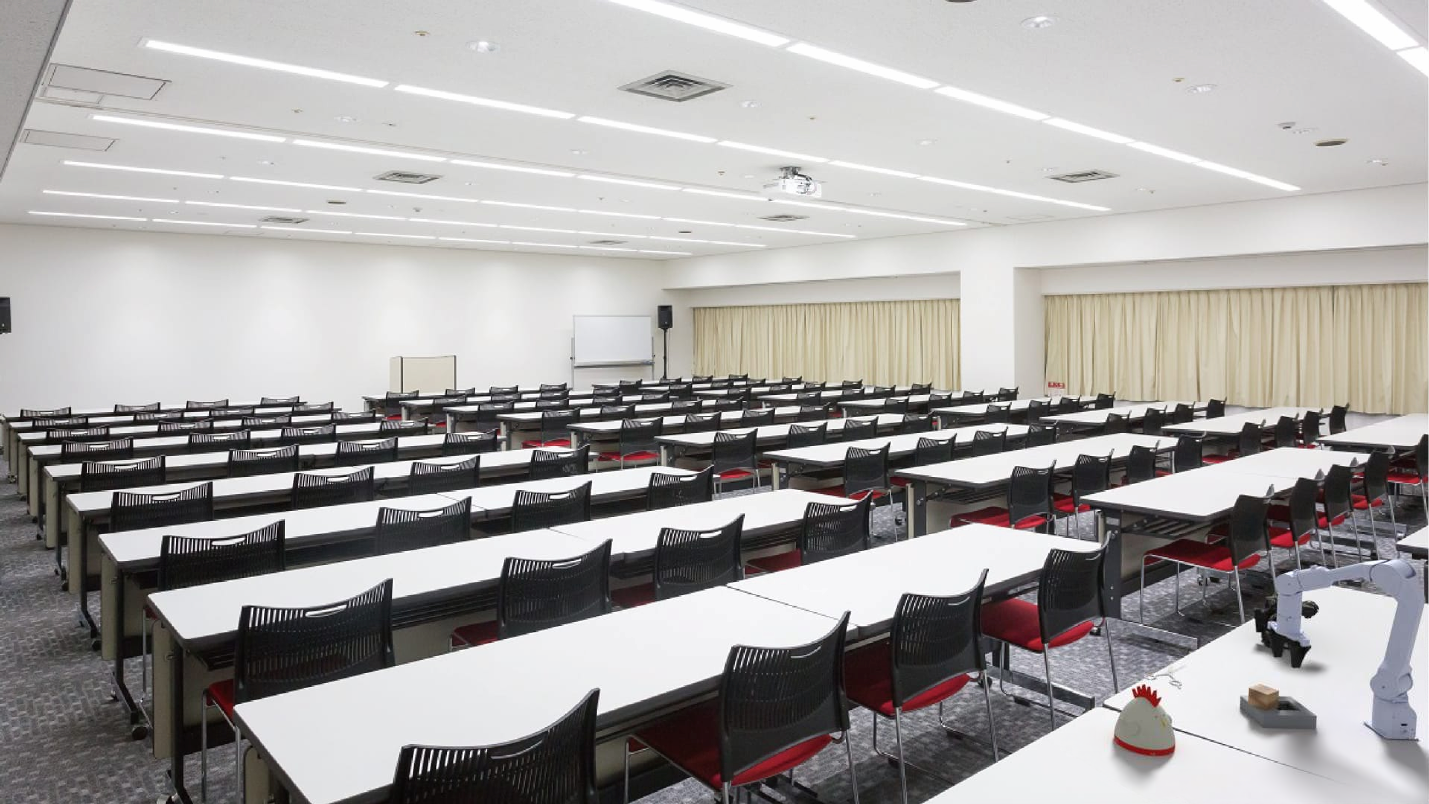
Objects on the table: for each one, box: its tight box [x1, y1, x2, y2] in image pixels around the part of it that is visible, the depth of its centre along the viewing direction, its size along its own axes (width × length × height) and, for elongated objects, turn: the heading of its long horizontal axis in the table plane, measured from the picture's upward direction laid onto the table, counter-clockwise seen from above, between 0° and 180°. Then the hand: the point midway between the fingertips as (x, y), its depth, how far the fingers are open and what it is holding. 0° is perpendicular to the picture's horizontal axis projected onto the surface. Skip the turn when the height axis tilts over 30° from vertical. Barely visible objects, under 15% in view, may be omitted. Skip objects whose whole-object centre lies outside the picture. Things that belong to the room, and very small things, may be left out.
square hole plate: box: [1239, 695, 1318, 730], centre depth 241 cm, size 12×13×3 cm
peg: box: [1247, 683, 1280, 711], centre depth 241 cm, size 5×5×8 cm
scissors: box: [1143, 662, 1186, 690], centre depth 271 cm, size 11×1×20 cm
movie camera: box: [1253, 591, 1320, 651], centre depth 297 cm, size 31×18×18 cm, turn 140°
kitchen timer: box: [1113, 683, 1176, 757], centre depth 227 cm, size 14×14×15 cm
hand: (1286, 662), depth 253 cm, fingers open, 7 cm apart
